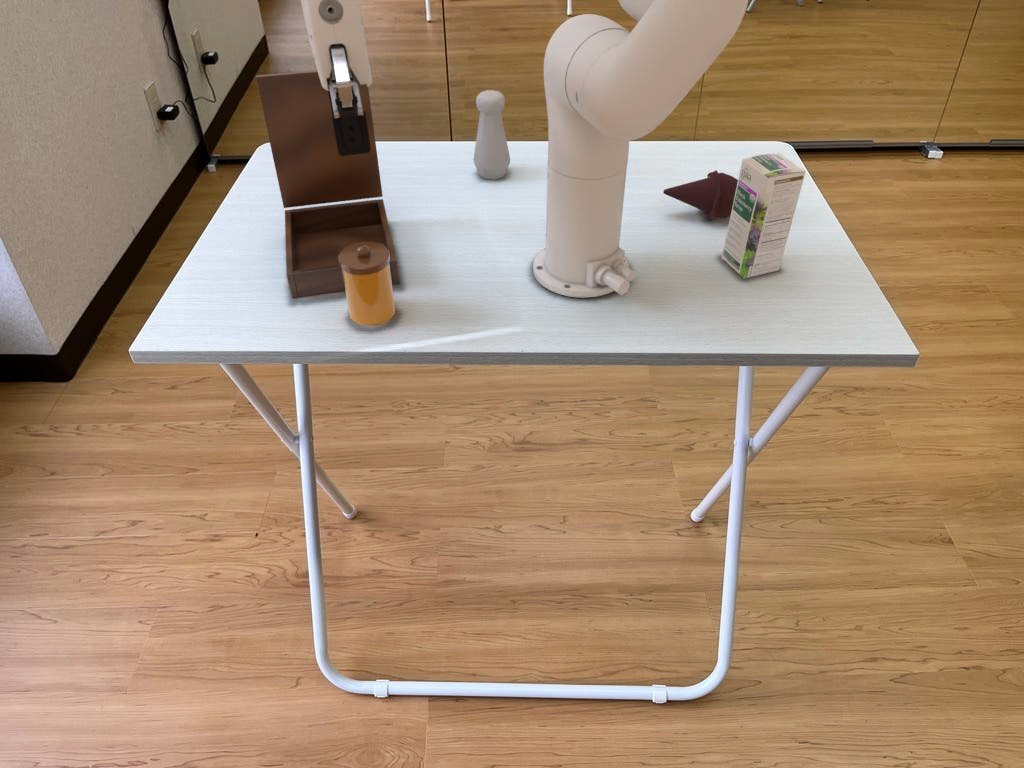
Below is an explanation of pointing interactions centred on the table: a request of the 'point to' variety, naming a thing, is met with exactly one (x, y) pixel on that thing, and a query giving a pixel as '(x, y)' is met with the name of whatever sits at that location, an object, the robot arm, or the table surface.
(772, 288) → the table surface
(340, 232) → the chest
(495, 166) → the salt shaker
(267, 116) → the chest lid
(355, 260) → the honey pot
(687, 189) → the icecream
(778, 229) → the syrup box
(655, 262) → the table surface
